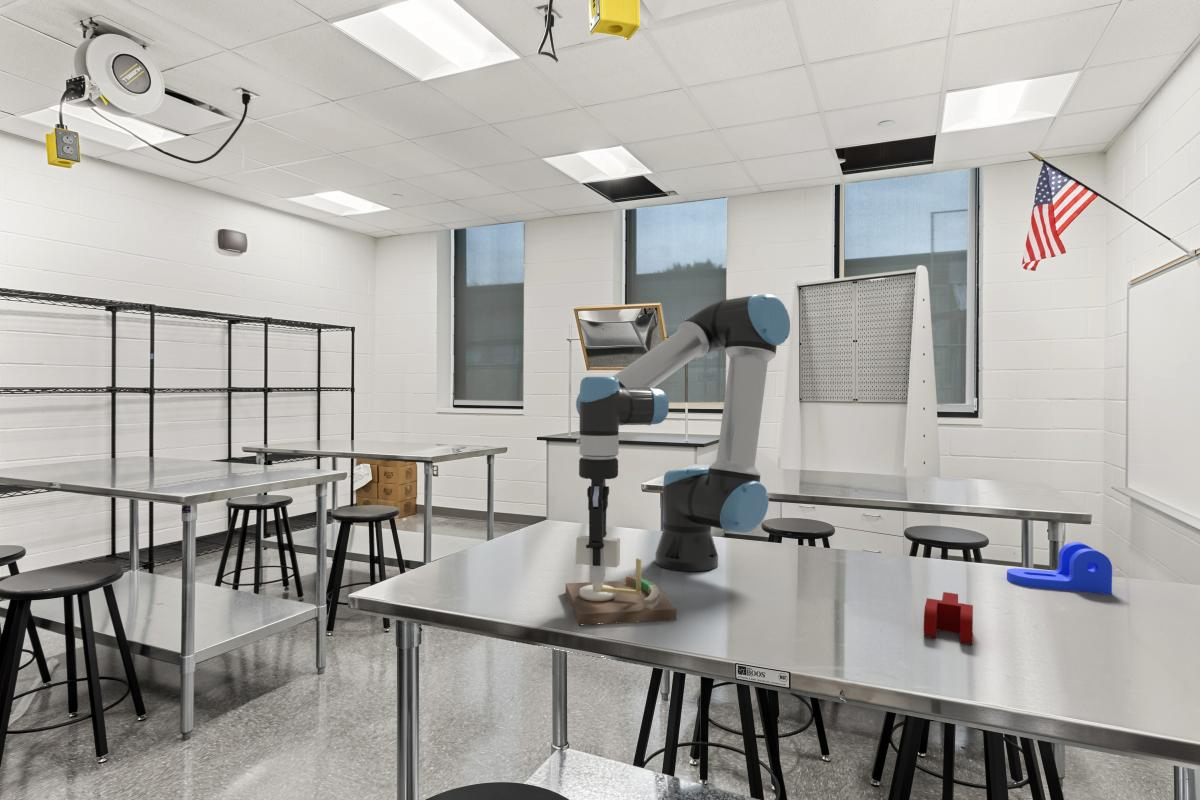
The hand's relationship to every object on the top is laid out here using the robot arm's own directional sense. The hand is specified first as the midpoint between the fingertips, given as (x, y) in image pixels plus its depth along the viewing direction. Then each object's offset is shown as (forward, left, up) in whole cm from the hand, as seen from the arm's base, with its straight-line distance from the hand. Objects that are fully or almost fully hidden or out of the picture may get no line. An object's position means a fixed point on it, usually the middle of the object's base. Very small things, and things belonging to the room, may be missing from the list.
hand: (597, 578), depth 122 cm
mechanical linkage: (-60, +21, -6) cm, 64 cm away
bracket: (-102, 0, -6) cm, 103 cm away
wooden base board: (-4, 0, -5) cm, 7 cm away
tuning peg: (-2, +1, -3) cm, 4 cm away
